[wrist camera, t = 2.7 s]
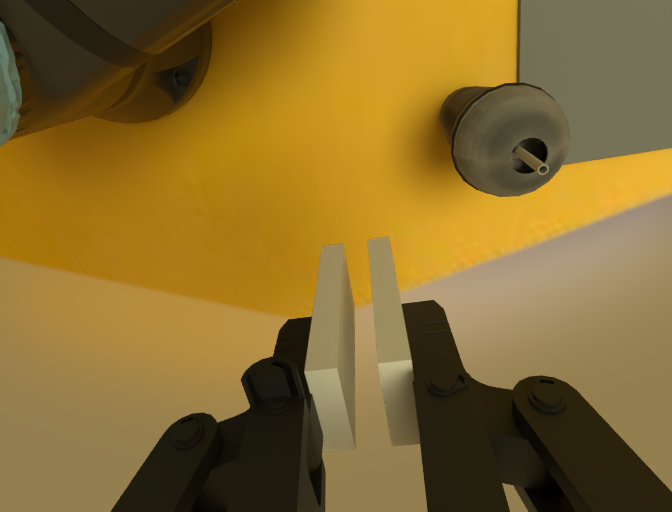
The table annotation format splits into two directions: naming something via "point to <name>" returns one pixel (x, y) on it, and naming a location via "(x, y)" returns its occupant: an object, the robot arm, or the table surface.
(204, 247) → the table surface
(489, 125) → the beverage cup
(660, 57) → the mat
